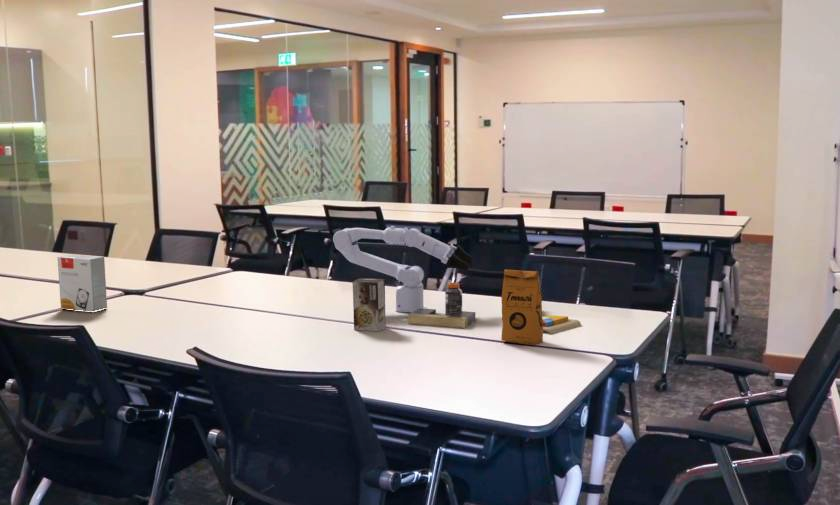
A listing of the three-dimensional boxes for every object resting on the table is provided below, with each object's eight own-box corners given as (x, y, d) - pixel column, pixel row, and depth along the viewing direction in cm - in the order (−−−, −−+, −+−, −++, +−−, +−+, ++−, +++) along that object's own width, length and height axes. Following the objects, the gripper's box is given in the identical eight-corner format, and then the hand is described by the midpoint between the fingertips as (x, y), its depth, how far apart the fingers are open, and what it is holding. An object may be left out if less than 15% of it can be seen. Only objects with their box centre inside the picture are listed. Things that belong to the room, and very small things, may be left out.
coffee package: (536, 348, 235) (537, 274, 232) (496, 343, 241) (497, 271, 238) (547, 340, 244) (548, 269, 241) (509, 336, 250) (509, 266, 247)
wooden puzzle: (536, 318, 277) (536, 308, 276) (582, 327, 264) (582, 316, 263) (503, 327, 265) (503, 316, 264) (550, 336, 251) (550, 325, 251)
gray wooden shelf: (407, 323, 268) (407, 314, 268) (420, 316, 279) (420, 308, 278) (464, 328, 261) (465, 319, 261) (475, 320, 272) (475, 312, 271)
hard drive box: (60, 310, 294) (56, 256, 292) (76, 306, 302) (72, 254, 299) (92, 313, 289) (89, 258, 286) (108, 309, 296) (105, 256, 293)
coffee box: (386, 327, 263) (385, 278, 261) (379, 331, 257) (378, 282, 255) (360, 325, 266) (359, 277, 264) (352, 330, 260) (351, 280, 258)
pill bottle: (465, 314, 282) (465, 282, 281) (457, 317, 277) (456, 285, 276) (450, 312, 285) (450, 281, 284) (442, 315, 281) (442, 283, 279)
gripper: (434, 243, 276) (470, 260, 274) (444, 233, 289) (479, 249, 288) (427, 261, 279) (462, 278, 277) (437, 250, 292) (471, 266, 290)
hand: (470, 264), depth 282 cm, fingers open, 7 cm apart
